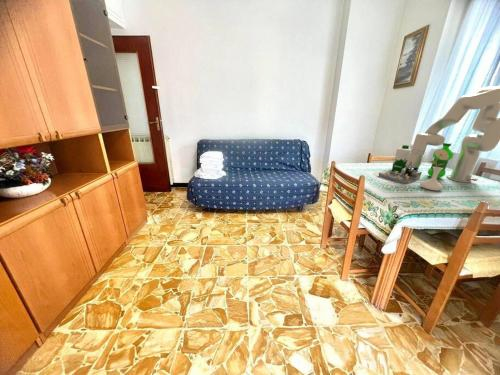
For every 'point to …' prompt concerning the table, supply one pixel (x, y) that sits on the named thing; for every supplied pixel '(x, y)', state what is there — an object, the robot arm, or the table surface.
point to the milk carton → (401, 158)
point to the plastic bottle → (441, 161)
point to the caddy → (397, 177)
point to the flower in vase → (435, 172)
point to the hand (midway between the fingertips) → (410, 175)
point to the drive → (412, 173)
